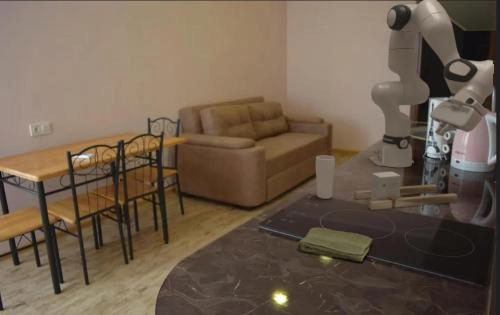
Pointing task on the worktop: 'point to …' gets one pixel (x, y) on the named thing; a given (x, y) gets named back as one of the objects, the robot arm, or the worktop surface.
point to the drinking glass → (325, 175)
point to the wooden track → (409, 200)
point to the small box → (385, 185)
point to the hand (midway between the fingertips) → (438, 134)
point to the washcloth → (335, 244)
